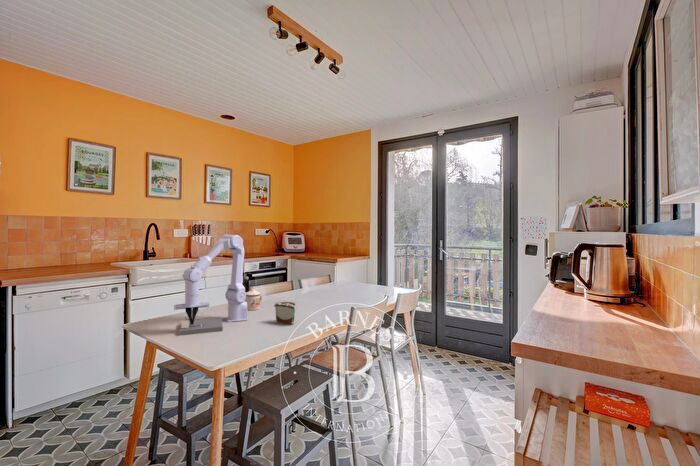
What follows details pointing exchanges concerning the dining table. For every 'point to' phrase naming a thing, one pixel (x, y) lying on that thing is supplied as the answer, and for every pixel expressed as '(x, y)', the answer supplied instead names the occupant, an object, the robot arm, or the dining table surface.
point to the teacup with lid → (253, 300)
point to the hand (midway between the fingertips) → (191, 323)
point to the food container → (285, 312)
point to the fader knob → (185, 323)
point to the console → (202, 326)
